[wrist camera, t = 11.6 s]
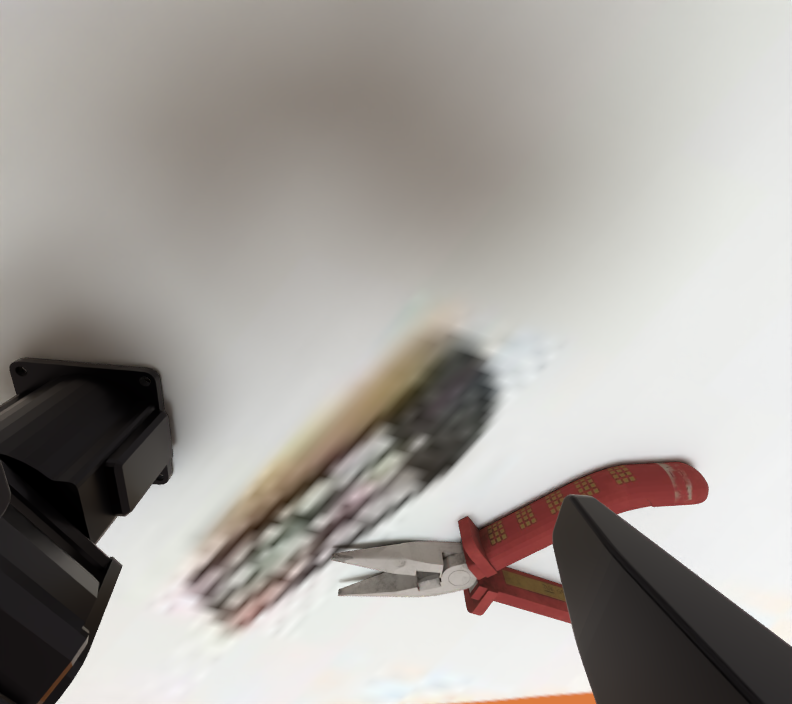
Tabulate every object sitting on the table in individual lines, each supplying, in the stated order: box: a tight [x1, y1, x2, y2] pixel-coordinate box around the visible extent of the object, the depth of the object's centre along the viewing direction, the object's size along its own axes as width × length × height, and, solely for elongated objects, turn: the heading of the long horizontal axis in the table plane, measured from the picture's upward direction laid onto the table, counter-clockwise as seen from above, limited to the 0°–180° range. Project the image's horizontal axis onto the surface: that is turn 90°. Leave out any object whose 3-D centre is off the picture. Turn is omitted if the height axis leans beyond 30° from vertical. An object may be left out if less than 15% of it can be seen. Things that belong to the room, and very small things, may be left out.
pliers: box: [331, 462, 709, 623], centre depth 25 cm, size 12×20×3 cm, turn 96°
